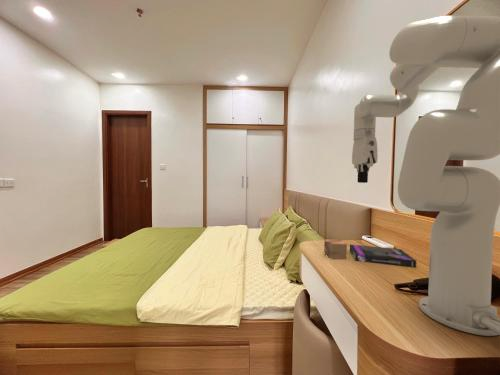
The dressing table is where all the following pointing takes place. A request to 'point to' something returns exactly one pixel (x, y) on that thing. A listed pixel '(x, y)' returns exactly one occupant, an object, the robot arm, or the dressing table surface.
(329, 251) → the walnut block
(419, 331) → the dressing table surface
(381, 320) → the dressing table surface
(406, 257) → the box
